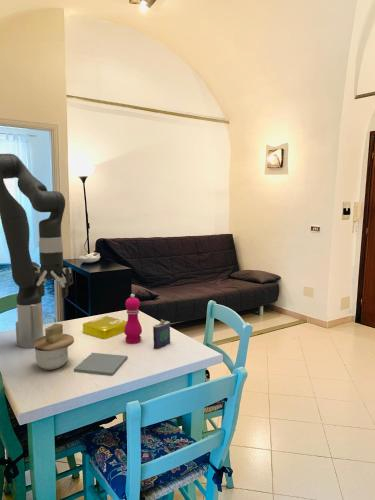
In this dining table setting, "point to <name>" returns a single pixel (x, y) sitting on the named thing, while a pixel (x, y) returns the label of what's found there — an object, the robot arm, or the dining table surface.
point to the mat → (101, 364)
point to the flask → (161, 334)
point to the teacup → (51, 358)
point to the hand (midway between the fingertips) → (53, 296)
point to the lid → (54, 339)
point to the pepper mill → (132, 321)
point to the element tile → (104, 327)
